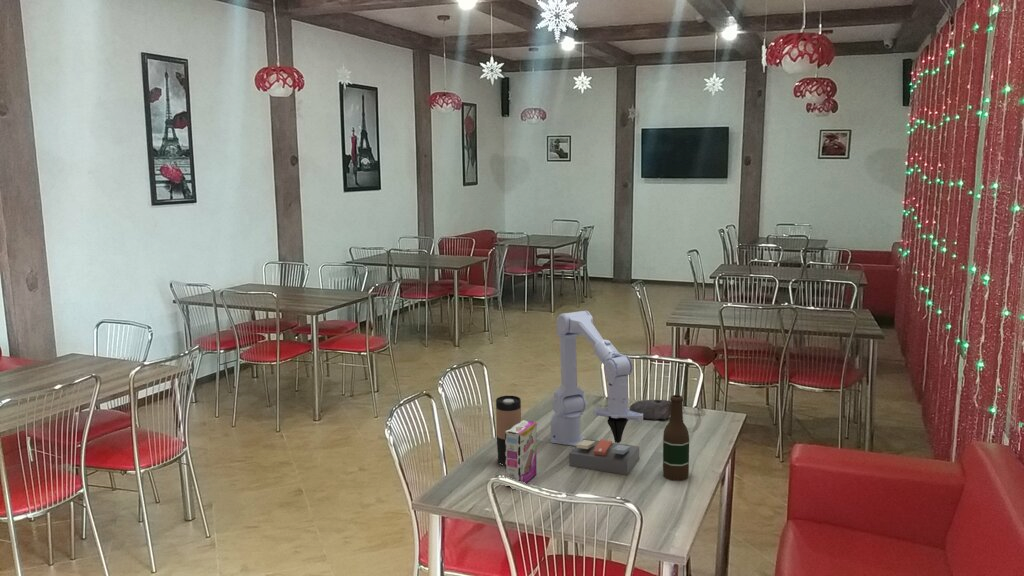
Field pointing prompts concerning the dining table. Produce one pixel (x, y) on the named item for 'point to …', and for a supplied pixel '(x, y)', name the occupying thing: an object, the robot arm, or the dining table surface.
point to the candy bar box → (521, 451)
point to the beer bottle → (676, 443)
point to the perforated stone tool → (652, 409)
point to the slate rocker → (620, 449)
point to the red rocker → (602, 447)
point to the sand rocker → (585, 444)
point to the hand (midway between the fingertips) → (618, 441)
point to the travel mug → (506, 420)
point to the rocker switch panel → (604, 459)
